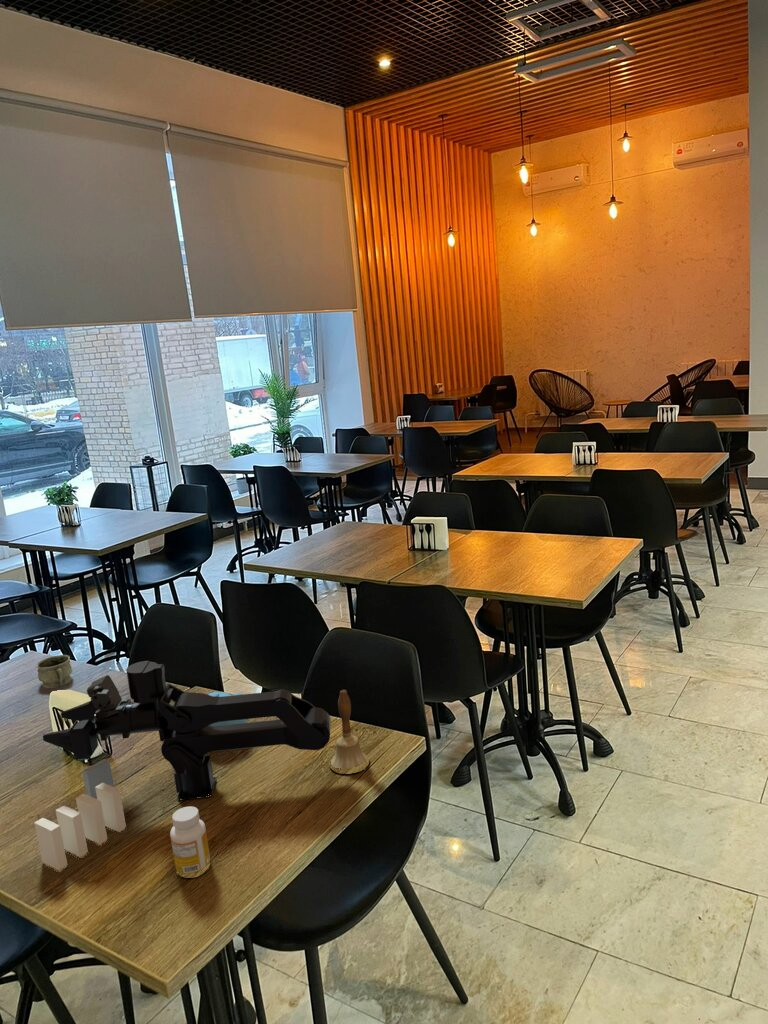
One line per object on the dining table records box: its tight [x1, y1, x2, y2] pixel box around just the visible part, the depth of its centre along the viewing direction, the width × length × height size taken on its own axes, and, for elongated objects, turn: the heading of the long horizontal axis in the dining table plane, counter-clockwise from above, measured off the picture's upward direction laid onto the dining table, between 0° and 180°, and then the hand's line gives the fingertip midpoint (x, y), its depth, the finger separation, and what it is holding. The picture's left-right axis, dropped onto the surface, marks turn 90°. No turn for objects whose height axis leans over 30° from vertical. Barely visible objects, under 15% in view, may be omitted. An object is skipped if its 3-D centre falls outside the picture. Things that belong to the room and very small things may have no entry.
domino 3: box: [81, 758, 115, 799], centre depth 148 cm, size 2×5×8 cm, turn 146°
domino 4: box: [95, 783, 127, 831], centre depth 140 cm, size 2×5×8 cm, turn 56°
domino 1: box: [33, 817, 68, 870], centre depth 130 cm, size 2×5×8 cm, turn 56°
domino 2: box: [55, 805, 89, 857], centre depth 134 cm, size 2×5×8 cm, turn 56°
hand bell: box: [330, 689, 368, 769], centre depth 154 cm, size 8×8×16 cm
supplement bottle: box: [169, 806, 211, 874], centre depth 126 cm, size 6×6×10 cm
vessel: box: [35, 654, 73, 689], centre depth 210 cm, size 12×9×6 cm
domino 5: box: [75, 793, 108, 844], centre depth 137 cm, size 2×5×8 cm, turn 56°
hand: (52, 726), depth 147 cm, fingers open, 9 cm apart
